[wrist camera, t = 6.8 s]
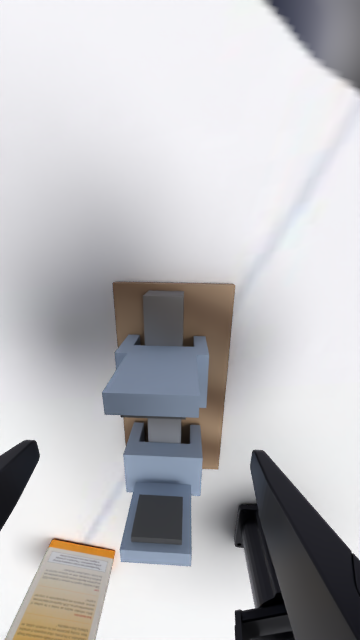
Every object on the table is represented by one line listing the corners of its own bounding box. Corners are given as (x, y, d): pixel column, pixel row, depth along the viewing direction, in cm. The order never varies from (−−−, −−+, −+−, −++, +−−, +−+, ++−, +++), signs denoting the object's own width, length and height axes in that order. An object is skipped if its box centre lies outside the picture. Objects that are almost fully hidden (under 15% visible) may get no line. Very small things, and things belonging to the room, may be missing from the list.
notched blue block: (203, 381, 17) (212, 464, 10) (131, 378, 17) (94, 458, 11) (205, 336, 16) (217, 396, 9) (128, 334, 16) (84, 391, 9)
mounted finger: (198, 458, 20) (203, 567, 13) (136, 455, 20) (108, 560, 13) (200, 425, 19) (207, 524, 12) (134, 422, 19) (102, 518, 12)
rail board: (217, 461, 21) (221, 493, 18) (129, 457, 21) (120, 488, 19) (232, 283, 16) (242, 290, 13) (116, 281, 16) (100, 287, 13)
